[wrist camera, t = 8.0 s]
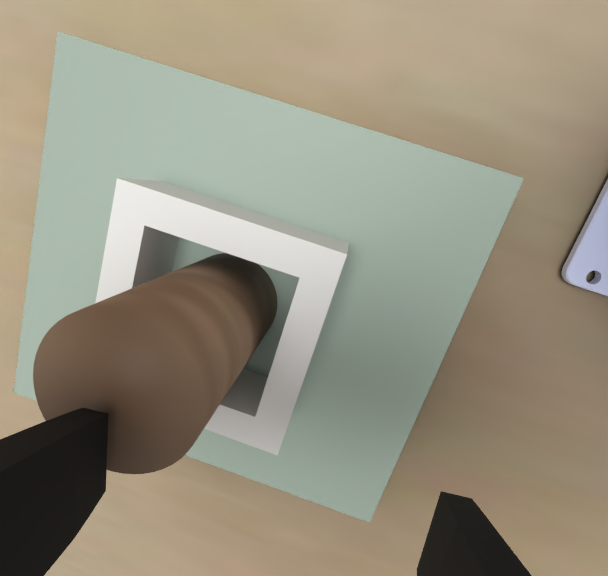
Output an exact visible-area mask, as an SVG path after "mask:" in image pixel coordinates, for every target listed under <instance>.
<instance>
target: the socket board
mask: <svg viewBox="0 0 608 576" xmlns="http://www.w3.org/2000/svg"><path fill="white" fill-rule="evenodd" d="M523 180H524V178H522V177H519V176H515V175H512V174H509V173H506V172H503V171H499V170H496V169H493V168H490V167H487V166H484V165H480V164H477V163H474V162H471V161H468V160H465V159H461V158H458V157H455V156H452V155H449V154H446V153H442V152H439V151H436V150H433V149H430V148H426V147H423V146H420V145H417V144H414V143H411V142H407V141H404V140H401V139H398V138H395V137H392V136H388V135H385V134H382V133H379V132H376V131H373V130H369V129H366V128H363V127H360V126H357V125H354V124H350V123H347V122H344V121H341V120H338V119H334V118H331V117H328V116H325V115H322V114H319V113H315V112H312V111H309V110H306V109H303V108H300V107H296V106H293V105H290V104H287V103H284V102H281V101H277V100H274V99H271V98H268V97H265V96H262V95H258V94H255V93H252V92H249V91H246V90H242V89H239V88H236V87H233V86H230V85H227V84H223V83H220V82H217V81H214V80H211V79H208V78H204V77H201V76H198V75H195V74H192V73H189V72H185V71H182V70H179V69H176V68H173V67H170V66H166V65H163V64H160V63H157V62H154V61H150V60H147V59H144V58H141V57H138V56H135V55H131V54H128V53H125V52H122V51H119V50H116V49H112V48H109V47H106V46H103V45H100V44H97V43H93V42H90V41H87V40H84V39H81V38H78V37H74V36H71V35H68V34H65V33H62V32H57V41H56V49H55V57H54V65H53V74H52V82H51V90H50V98H49V107H48V115H47V123H46V131H45V139H44V148H43V156H42V164H41V172H40V181H39V189H38V197H37V205H36V213H35V222H34V230H33V238H32V246H31V255H30V263H29V271H28V279H27V287H26V296H25V304H24V312H23V320H22V329H21V337H20V345H19V353H18V362H17V370H16V378H15V386H14V393H16V394H19V395H21V396H24V397H27V398H30V399H32V400H35V401H37V399H36V396H35V390H34V385H33V366H34V360H35V356H36V352H37V350H38V347H39V344H40V343H41V341H42V339H43V337H44V336H45V334H46V333H47V332H48V331H49V329H50V328H51V327H52V326H53V325H54V324H56V323H57V322H58V321H59V320H61V319H62V318H64V317H65V316H67V315H69V314H71V313H73V312H76V311H78V310H80V309H83V308H85V307H88V306H90V305H93V304H95V303H97V302H100V301H102V300H105V299H107V298H110V297H112V296H115V295H117V294H119V293H122V292H124V291H127V290H129V289H132V288H134V287H137V286H139V285H141V284H144V283H146V282H149V281H151V280H154V279H156V278H158V277H161V276H163V275H166V274H168V273H171V272H173V271H176V270H178V269H180V268H183V267H185V266H188V265H190V264H193V263H195V262H198V261H200V260H202V259H205V258H207V257H210V256H212V255H216V254H221V253H228V254H231V255H234V256H237V257H240V258H243V259H246V260H248V261H251V262H254V263H257V264H259V265H260V266H261V267H262V268H263V269H264V270H265V271H266V273H267V274H268V275H269V277H270V278H271V280H272V282H273V284H274V287H275V290H276V294H277V312H276V316H275V318H274V321H273V323H272V325H271V327H270V328H269V330H268V331H267V333H266V334H265V336H264V337H263V339H262V340H261V342H260V343H259V345H258V347H257V348H256V350H255V351H254V353H253V354H252V356H251V357H250V359H249V360H248V362H247V363H246V365H245V366H244V368H243V370H242V371H241V373H240V374H239V376H238V377H237V379H236V380H235V382H234V383H233V385H232V386H231V388H230V390H229V391H228V393H227V394H226V396H225V397H224V399H223V400H222V402H221V403H220V405H219V406H218V408H217V409H216V411H215V413H214V414H213V416H212V417H211V419H210V420H209V422H208V423H207V425H206V426H205V428H204V429H203V431H202V432H201V434H200V436H199V437H198V439H197V440H196V442H195V443H194V445H193V446H192V447H191V448H190V450H189V451H188V452H187V453H186V454H185V455H186V456H188V457H191V458H194V459H196V460H199V461H202V462H205V463H207V464H210V465H213V466H216V467H218V468H221V469H224V470H227V471H229V472H232V473H235V474H237V475H240V476H243V477H246V478H248V479H251V480H254V481H257V482H259V483H262V484H265V485H268V486H270V487H273V488H276V489H278V490H281V491H284V492H287V493H289V494H292V495H295V496H298V497H300V498H303V499H306V500H309V501H311V502H314V503H317V504H319V505H322V506H325V507H328V508H330V509H333V510H336V511H339V512H341V513H344V514H347V515H350V516H352V517H355V518H358V519H360V520H363V521H366V522H369V523H370V521H371V518H372V516H373V514H374V512H375V509H376V507H377V505H378V503H379V501H380V498H381V496H382V494H383V492H384V489H385V487H386V485H387V483H388V481H389V478H390V476H391V474H392V472H393V469H394V467H395V465H396V463H397V460H398V458H399V456H400V454H401V452H402V449H403V447H404V445H405V443H406V440H407V438H408V436H409V434H410V432H411V429H412V427H413V425H414V423H415V420H416V418H417V416H418V414H419V411H420V409H421V407H422V405H423V403H424V400H425V398H426V396H427V394H428V391H429V389H430V387H431V385H432V382H433V380H434V378H435V376H436V374H437V371H438V369H439V367H440V365H441V362H442V360H443V358H444V356H445V354H446V351H447V349H448V347H449V345H450V342H451V340H452V338H453V336H454V333H455V331H456V329H457V327H458V325H459V322H460V320H461V318H462V316H463V313H464V311H465V309H466V307H467V304H468V302H469V300H470V298H471V296H472V293H473V291H474V289H475V287H476V284H477V282H478V280H479V278H480V276H481V273H482V271H483V269H484V267H485V264H486V262H487V260H488V258H489V255H490V253H491V251H492V249H493V247H494V244H495V242H496V240H497V238H498V235H499V233H500V231H501V229H502V227H503V224H504V222H505V220H506V218H507V215H508V213H509V211H510V209H511V206H512V204H513V202H514V200H515V198H516V195H517V193H518V191H519V189H520V186H521V184H522V182H523Z"/></svg>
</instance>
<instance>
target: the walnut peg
mask: <svg viewBox="0 0 608 576" xmlns="http://www.w3.org/2000/svg"><path fill="white" fill-rule="evenodd" d="M276 312H277V294H276V290H275V287H274V284H273V282H272V280H271V278H270V277H269V275H268V274H267V273H266V271H265V270H264V269H263V268H262V267H261V266H260V265H259V264H257V263H254V262H251V261H248V260H246V259H243V258H240V257H237V256H234V255H231V254H228V253H221V254H216V255H212V256H210V257H207V258H205V259H202V260H200V261H198V262H195V263H193V264H190V265H188V266H185V267H183V268H180V269H178V270H176V271H173V272H171V273H168V274H166V275H163V276H161V277H158V278H156V279H154V280H151V281H149V282H146V283H144V284H141V285H139V286H137V287H134V288H132V289H129V290H127V291H124V292H122V293H119V294H117V295H115V296H112V297H110V298H107V299H105V300H102V301H100V302H97V303H95V304H93V305H90V306H88V307H85V308H83V309H80V310H78V311H76V312H73V313H71V314H69V315H67V316H65V317H64V318H62V319H61V320H59V321H58V322H57V323H56V324H54V325H53V326H52V327H51V328H50V329H49V331H48V332H47V333H46V334H45V336H44V337H43V339H42V341H41V343H40V344H39V347H38V350H37V352H36V356H35V360H34V366H33V385H34V390H35V396H36V399H37V402H38V405H39V408H40V410H41V412H42V414H43V417H44V418H45V420H46V421H48V420H50V419H53V418H55V417H58V416H60V415H63V414H66V413H68V412H71V411H74V410H77V409H80V408H87V409H91V410H96V411H100V412H104V413H108V414H109V416H108V441H107V465H106V469H107V470H110V471H114V472H119V473H126V474H144V473H150V472H155V471H158V470H161V469H164V468H166V467H168V466H170V465H172V464H174V463H175V462H177V461H178V460H179V459H181V458H182V457H183V456H184V455H185V454H186V453H187V452H188V451H189V450H190V448H191V447H192V446H193V445H194V443H195V442H196V440H197V439H198V437H199V436H200V434H201V432H202V431H203V429H204V428H205V426H206V425H207V423H208V422H209V420H210V419H211V417H212V416H213V414H214V413H215V411H216V409H217V408H218V406H219V405H220V403H221V402H222V400H223V399H224V397H225V396H226V394H227V393H228V391H229V390H230V388H231V386H232V385H233V383H234V382H235V380H236V379H237V377H238V376H239V374H240V373H241V371H242V370H243V368H244V366H245V365H246V363H247V362H248V360H249V359H250V357H251V356H252V354H253V353H254V351H255V350H256V348H257V347H258V345H259V343H260V342H261V340H262V339H263V337H264V336H265V334H266V333H267V331H268V330H269V328H270V327H271V325H272V323H273V321H274V318H275V316H276Z"/></svg>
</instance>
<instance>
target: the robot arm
mask: <svg viewBox="0 0 608 576" xmlns="http://www.w3.org/2000/svg"><path fill="white" fill-rule="evenodd" d="M591 271H594V272H595V278H594V279H593V280H592V281H590V282H587V280H586V276H587V274H588V273H589V272H591ZM562 277H563V279H564V280H565V281H566V282H568V283H570V284H572V285H575V286H578V287H581V288H584V289H587V290H590V291H593V292H596V293H599V294H602V295H605V296H608V179H607V181H606V183H605V185H604V187H603V189H602V191H601V193H600V195H599V197H598V199H597V201H596V203H595V205H594V207H593V209H592V211H591V213H590V215H589V217H588V219H587V221H586V223H585V225H584V227H583V229H582V231H581V233H580V235H579V237H578V238H577V240H576V242H575V244H574V246H573V248H572V250H571V252H570V254H569V256H568V258H567V260H566V262H565V264H564V266H563V269H562ZM108 416H109V414H108V413H104V412H100V411H96V410H91V409H87V408H80V409H77V410H74V411H71V412H68V413H66V414H63V415H60V416H58V417H55V418H53V419H50V420H48V421H45V422H43V423H40V424H38V425H35V426H33V427H30V428H28V429H25V430H23V431H20V432H18V433H16V434H13V435H11V436H8V437H6V438H3V439H1V440H0V576H44V575H45V574H46V572H47V571H48V570H49V569H50V567H51V566H52V565H53V564H54V563H55V561H56V560H57V559H58V558H59V556H60V555H61V554H62V553H63V552H64V550H65V549H66V548H67V547H68V545H69V544H70V543H71V542H72V540H73V539H74V538H75V536H76V535H77V533H78V532H79V530H80V529H81V528H82V526H83V525H84V523H85V522H86V520H87V519H88V517H89V516H90V514H91V513H92V511H93V510H94V508H95V506H96V505H97V503H98V502H99V500H100V499H101V497H102V495H103V494H104V492H105V490H106V465H107V441H108ZM417 576H531V574H530V573H529V572H528V571H527V569H526V568H525V567H524V566H523V564H522V563H521V562H520V560H519V559H518V558H517V556H516V555H515V554H514V553H513V551H512V550H511V549H510V547H509V546H508V545H507V543H506V542H505V541H504V540H503V538H502V537H501V536H500V534H499V533H498V532H497V530H496V529H495V528H494V526H493V525H492V524H491V523H490V521H489V520H488V519H487V517H486V516H485V515H484V513H483V512H482V511H481V510H480V508H479V507H478V506H477V505H476V503H475V502H474V501H473V500H472V499H471V498H467V497H462V496H458V495H454V494H450V493H445V492H441V493H440V496H439V499H438V503H437V506H436V509H435V512H434V516H433V519H432V522H431V525H430V529H429V532H428V535H427V538H426V542H425V545H424V548H423V551H422V555H421V558H420V561H419V565H418V568H417Z"/></svg>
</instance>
